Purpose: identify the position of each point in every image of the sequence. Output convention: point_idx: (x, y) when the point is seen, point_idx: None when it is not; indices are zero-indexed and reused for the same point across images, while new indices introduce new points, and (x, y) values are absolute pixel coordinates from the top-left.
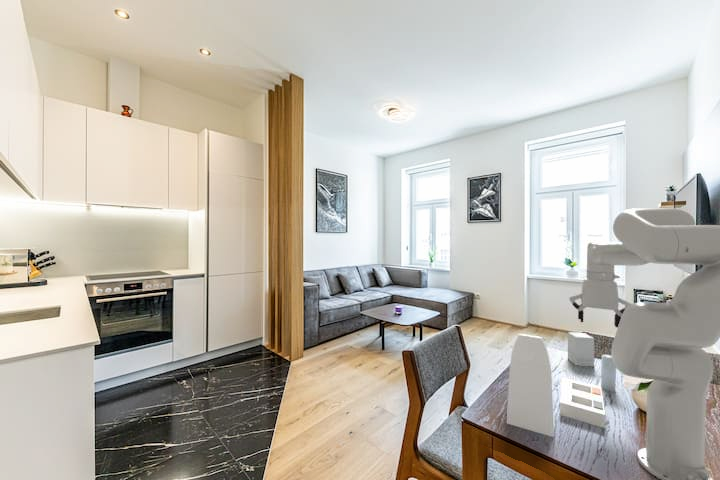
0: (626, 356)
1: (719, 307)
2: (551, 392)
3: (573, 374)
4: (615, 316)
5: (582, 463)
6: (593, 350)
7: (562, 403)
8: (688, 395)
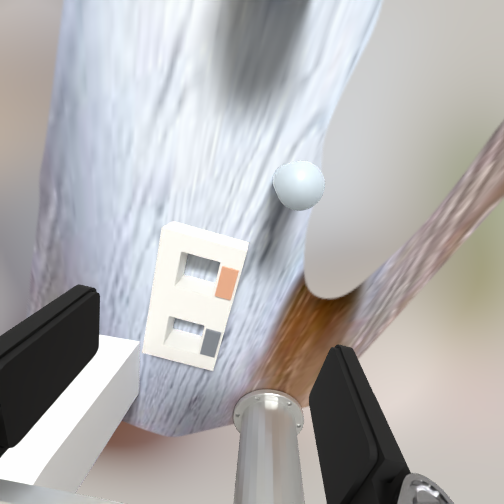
0: None
1: None
2: (89, 468)
3: (220, 103)
4: (338, 486)
5: (166, 427)
6: None
7: (146, 352)
8: None
